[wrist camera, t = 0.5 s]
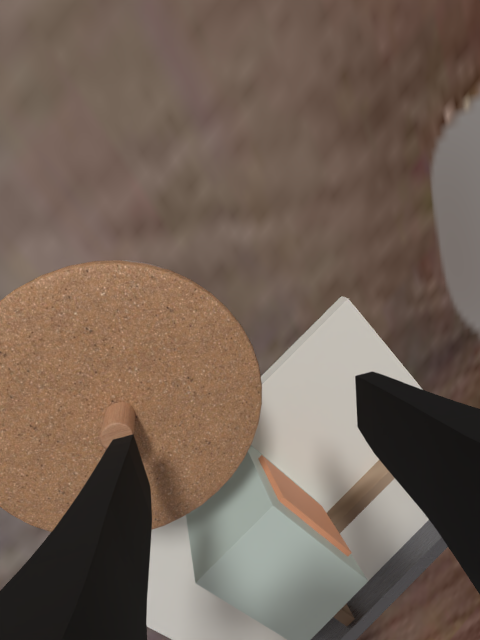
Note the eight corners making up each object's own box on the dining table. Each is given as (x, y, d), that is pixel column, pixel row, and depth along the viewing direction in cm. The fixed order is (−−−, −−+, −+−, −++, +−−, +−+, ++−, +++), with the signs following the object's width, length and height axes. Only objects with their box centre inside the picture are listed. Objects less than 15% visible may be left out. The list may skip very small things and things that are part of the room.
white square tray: (272, 681, 29) (282, 718, 27) (66, 570, 22) (57, 607, 20) (483, 468, 29) (510, 487, 27) (341, 296, 23) (361, 302, 21)
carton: (266, 554, 25) (301, 648, 19) (182, 494, 22) (195, 583, 17) (321, 499, 25) (372, 577, 19) (244, 432, 22) (277, 500, 17)
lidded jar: (242, 399, 23) (303, 506, 14) (67, 461, 21) (9, 628, 12) (196, 227, 20) (236, 224, 11) (-14, 282, 18) (-171, 331, 9)
